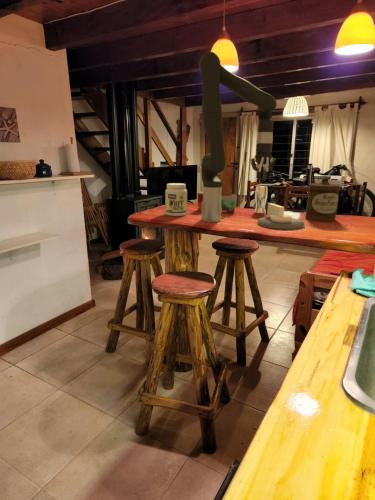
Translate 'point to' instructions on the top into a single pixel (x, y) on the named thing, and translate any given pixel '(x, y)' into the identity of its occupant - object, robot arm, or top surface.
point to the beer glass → (260, 198)
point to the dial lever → (277, 213)
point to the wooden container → (322, 201)
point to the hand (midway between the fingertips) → (261, 179)
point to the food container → (228, 203)
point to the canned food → (200, 200)
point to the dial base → (281, 224)
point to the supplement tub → (176, 199)
